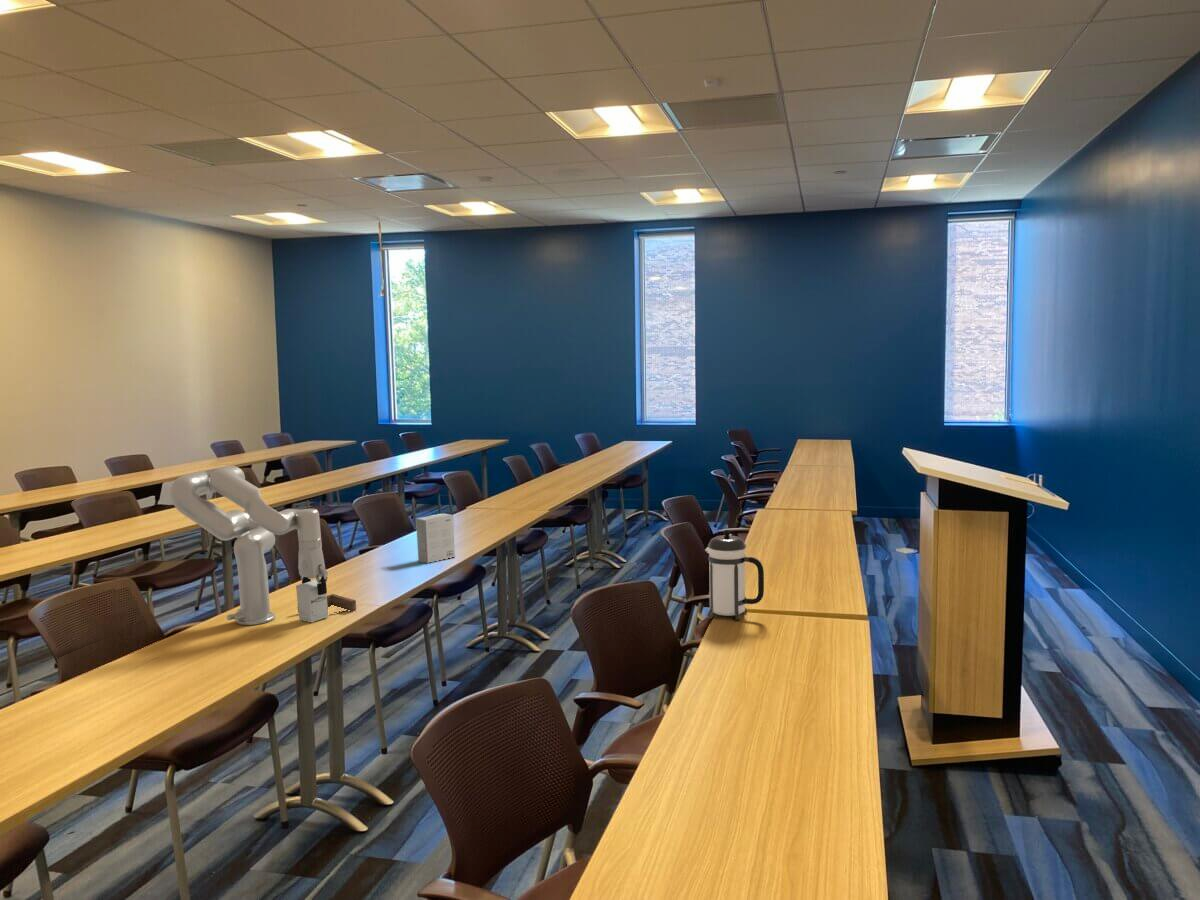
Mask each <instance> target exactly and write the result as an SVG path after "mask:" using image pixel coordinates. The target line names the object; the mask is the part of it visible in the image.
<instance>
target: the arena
mask: <svg viewBox="0 0 1200 900" xmlns="http://www.w3.org/2000/svg"><path fill="white" fill-rule="evenodd" d="M326 595H327V606H328V607H330V606H331V605H334V606H337V607H341V608H344V609H347V610H350V611H349V612H351V611H355V610H356V611H357V600H355V599H353V598H348V597H346V596H341V595H338V594H334V593H332V594H331V593H330V594H326ZM297 605H298V602H297ZM356 611H355V612H356ZM339 612H340V611H339ZM298 613H299V612H298V611H297V614H298ZM334 613H337V612H334Z"/></svg>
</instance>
